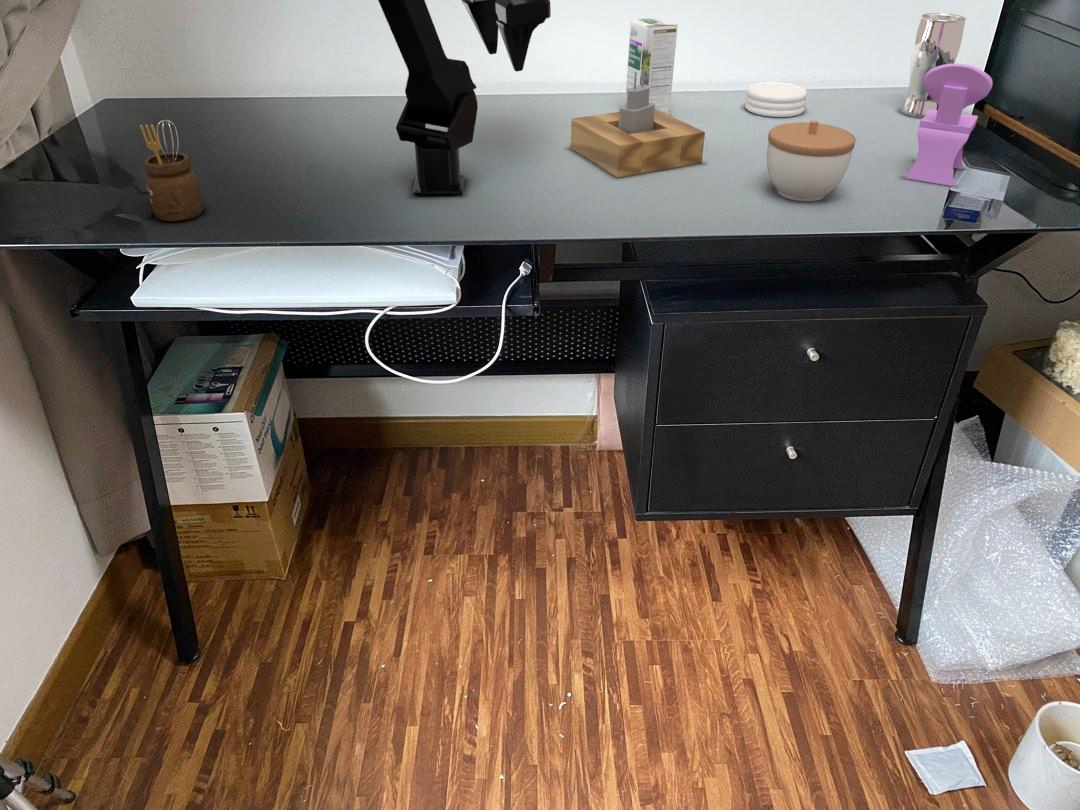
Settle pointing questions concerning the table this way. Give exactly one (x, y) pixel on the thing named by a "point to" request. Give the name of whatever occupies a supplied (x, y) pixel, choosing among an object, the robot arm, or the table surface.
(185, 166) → the utensil holder
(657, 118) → the block
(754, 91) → the white layered disc
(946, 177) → the chair
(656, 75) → the syrup box
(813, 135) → the trinket box
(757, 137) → the table surface
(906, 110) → the silver tumbler
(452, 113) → the robot arm
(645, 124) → the power adapter
